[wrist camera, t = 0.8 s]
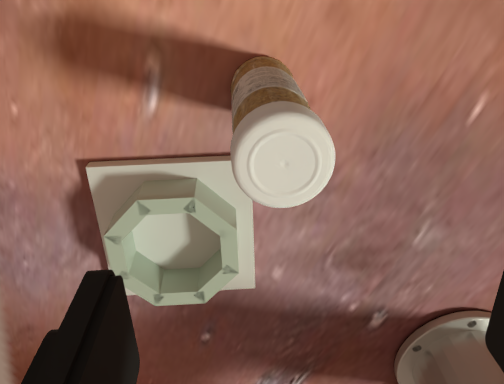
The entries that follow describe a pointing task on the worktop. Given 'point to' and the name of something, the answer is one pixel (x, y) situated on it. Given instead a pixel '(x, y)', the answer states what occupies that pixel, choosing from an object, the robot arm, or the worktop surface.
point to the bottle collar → (174, 227)
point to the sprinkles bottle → (276, 137)
